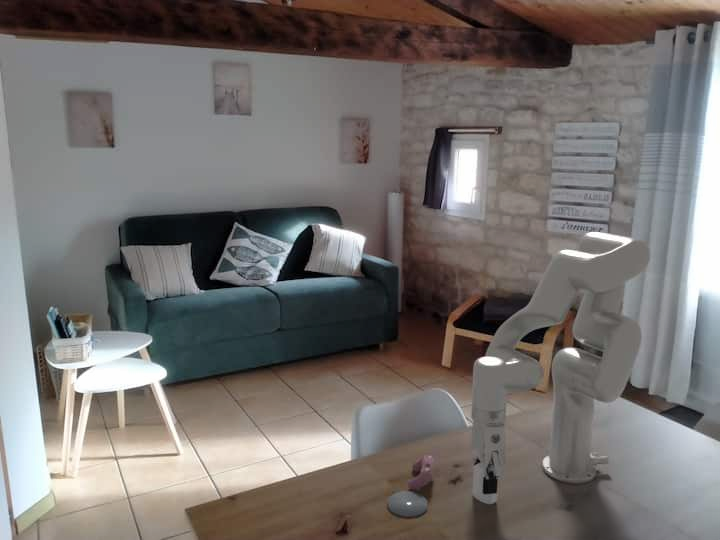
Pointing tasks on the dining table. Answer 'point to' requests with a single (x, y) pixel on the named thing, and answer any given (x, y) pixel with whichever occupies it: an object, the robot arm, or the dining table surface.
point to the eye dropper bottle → (478, 485)
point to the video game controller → (422, 472)
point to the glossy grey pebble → (407, 504)
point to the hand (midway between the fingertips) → (485, 484)
